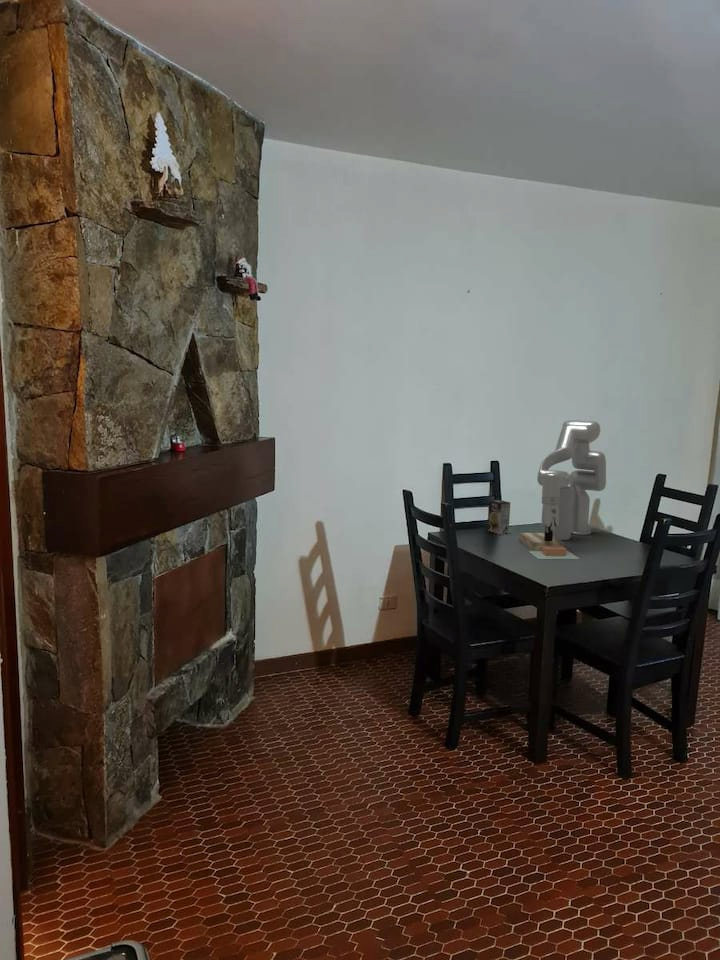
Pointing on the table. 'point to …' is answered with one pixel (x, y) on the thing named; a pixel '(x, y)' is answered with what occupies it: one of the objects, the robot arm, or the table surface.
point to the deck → (537, 541)
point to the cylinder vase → (564, 514)
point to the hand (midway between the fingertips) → (548, 540)
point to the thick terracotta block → (554, 550)
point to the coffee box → (499, 516)
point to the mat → (541, 556)
